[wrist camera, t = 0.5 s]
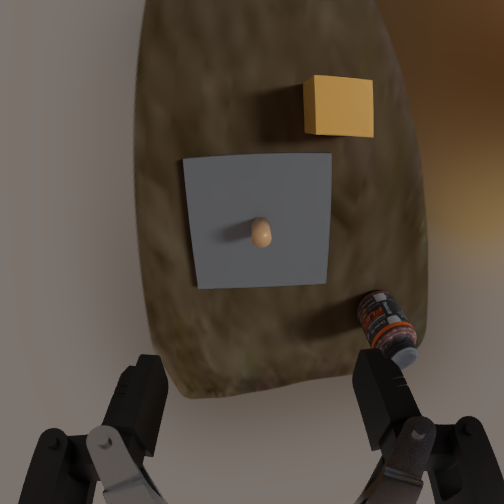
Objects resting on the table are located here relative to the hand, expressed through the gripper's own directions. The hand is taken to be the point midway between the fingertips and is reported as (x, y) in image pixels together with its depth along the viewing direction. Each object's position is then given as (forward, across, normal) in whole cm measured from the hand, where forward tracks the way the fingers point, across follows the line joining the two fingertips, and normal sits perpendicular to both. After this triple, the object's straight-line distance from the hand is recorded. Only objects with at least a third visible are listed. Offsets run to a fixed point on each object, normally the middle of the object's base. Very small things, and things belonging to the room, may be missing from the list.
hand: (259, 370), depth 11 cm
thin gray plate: (+24, -1, +3) cm, 25 cm away
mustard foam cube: (+25, -8, -10) cm, 28 cm away
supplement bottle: (+24, -17, +16) cm, 33 cm away
